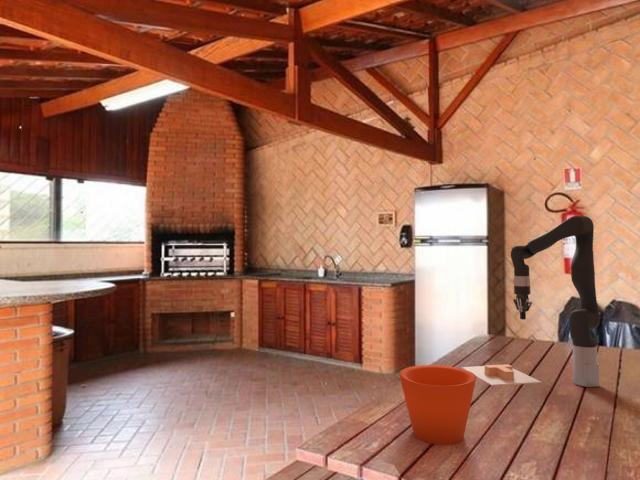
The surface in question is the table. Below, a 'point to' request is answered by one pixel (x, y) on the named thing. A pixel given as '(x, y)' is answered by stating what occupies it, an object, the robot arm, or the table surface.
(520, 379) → the board
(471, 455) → the table surface
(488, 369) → the t block
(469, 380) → the flowerpot
